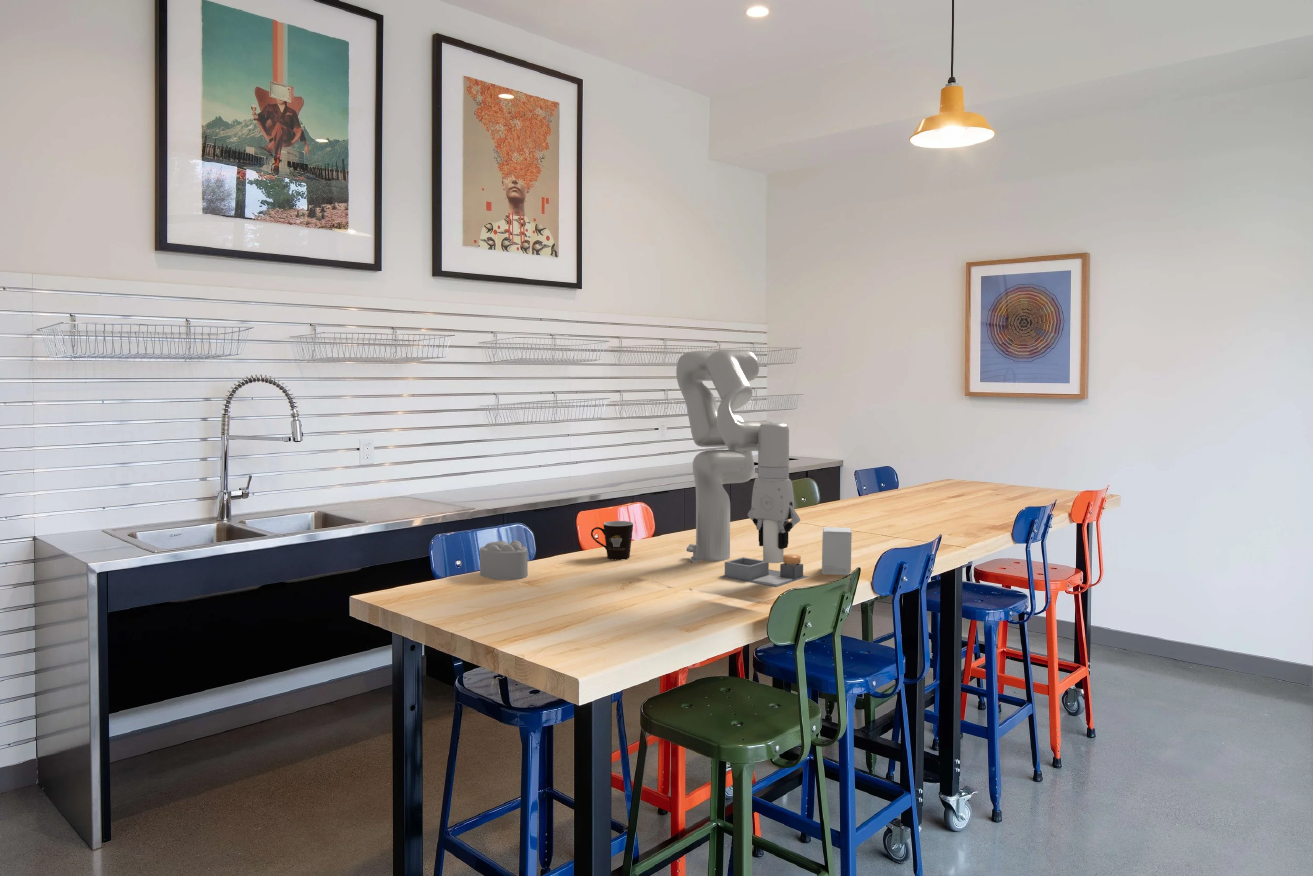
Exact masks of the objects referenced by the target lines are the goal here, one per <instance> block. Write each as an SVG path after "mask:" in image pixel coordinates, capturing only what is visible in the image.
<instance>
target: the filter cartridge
mask: <svg viewBox="0 0 1313 876" xmlns="http://www.w3.org/2000/svg"><path fill="white" fill-rule="evenodd" d="M780 532H781V531H780V527H779V523H778V521H772V520H763V546H762V560H763V561H764V562H767V563H770V564H782V563H784V562H783V561H784V555H785V554H784V549H785V548H784V549H779V548H778V534H779V533H780Z"/></svg>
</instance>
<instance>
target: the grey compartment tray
mask: <svg viewBox="0 0 1313 876" xmlns="http://www.w3.org/2000/svg"><path fill="white" fill-rule="evenodd" d="M779 564H780V565H779V569H780V570H774V569H770V567H769V565H770V564H769V563H767V562H764V561H763V559H762V560H761V559H756V558H751V557H739V558H735V559H731V560H728V561H727V560H726V561H725V562H724V574H723V575H720V576H719V577H720V578H724V579H731V580H735V581H739V582H746V583H752V584H757V585H762V586H767V587H772V588H779V587H782V586H783V585H788V584H790V583H793V582H796V581H799V580H800V581H801V580H802V579H805V578H808V577H809V576H808V575H804V564H803V563H798V564H797V565H796V566H789V565H787V563H784V562H782V563H779Z"/></svg>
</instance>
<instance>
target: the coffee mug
mask: <svg viewBox="0 0 1313 876" xmlns="http://www.w3.org/2000/svg"><path fill="white" fill-rule="evenodd" d="M633 529H634V522H632V521H627V520H611V521H605V522H604V523H603V527H600V526H597V527H594V528H592V529H591V531H590V535H591V538H592V540H594V542H595V543H597V544H598V545H600V546H601V547H603V548H604V549H605V550H606V556H607V557H606V558H607V559H608V560H611V559H614V560H613V561H622V560H621V559H625V560H628V559H627V558H629V557H631V546H632V541H633V540H632V539H633V538H632V537H633ZM596 530H600V531H601V532H602V534H603V535H604V540H605V544H603V543H602V542H600V541H599V540H597V539H596V538H595V536H594V531H596ZM615 559H616V560H615ZM629 559H630V558H629Z"/></svg>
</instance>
